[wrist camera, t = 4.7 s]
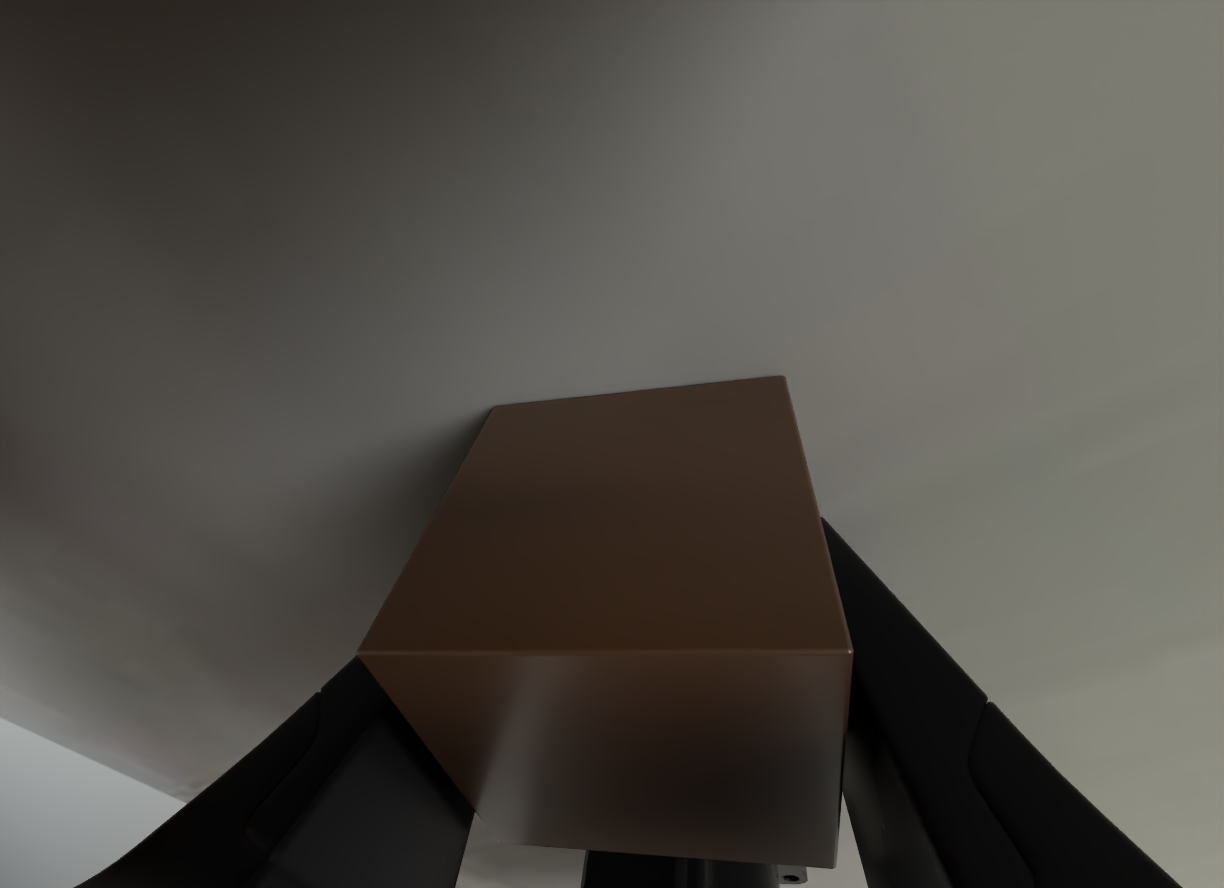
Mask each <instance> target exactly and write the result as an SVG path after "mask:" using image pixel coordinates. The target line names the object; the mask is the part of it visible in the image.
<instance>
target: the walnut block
mask: <svg viewBox="0 0 1224 888" xmlns="http://www.w3.org/2000/svg"><path fill="white" fill-rule="evenodd" d="M853 651H854V650H853V646H852V642H851V638H850V634H849V630H848V626H847V622H846V618H845V614H844V610H843V606H842V602H841V598H840V594H839V590H838V586H837V582H836V578H835V574H834V570H833V566H832V562H831V558H830V554H829V550H828V546H827V542H826V538H825V534H824V530H823V526H822V522H821V518H820V514H819V510H818V506H817V502H816V498H815V494H814V490H813V486H812V482H811V478H810V474H809V470H808V466H807V462H806V458H805V454H804V450H803V446H802V442H801V438H800V434H799V430H798V426H797V422H796V418H795V414H794V410H793V406H792V402H791V399H790V395H789V391H788V387H787V383H786V379H785V377H784V376H774V377H765V378H756V379H746V380H737V381H727V382H718V383H709V384H699V385H690V386H681V387H671V388H662V389H653V390H643V391H634V392H625V393H615V394H606V395H597V396H587V397H578V398H569V399H559V400H550V401H540V402H531V403H522V404H512V405H503V406H496V407H494V408H493V410H492V412H491V414H490V415H489V417H488V419H487V421H486V422H485V424H484V426H483V428H482V430H481V431H480V433H479V435H478V437H477V438H476V440H475V442H474V444H473V446H472V447H471V449H470V451H469V453H468V454H467V456H466V458H465V460H464V462H463V463H462V465H461V467H460V469H459V470H458V472H457V474H456V476H455V478H454V479H453V481H452V483H451V485H450V487H449V488H448V490H447V492H446V494H445V495H444V497H443V499H442V501H441V503H440V504H439V506H438V508H437V510H436V511H435V513H434V515H433V517H432V519H431V520H430V522H429V524H428V526H427V527H426V529H425V531H424V533H423V535H422V536H421V538H420V540H419V542H418V543H417V545H416V547H415V549H414V551H413V552H412V554H411V556H410V558H409V560H408V561H407V563H406V565H405V567H404V568H403V570H402V572H401V574H400V576H399V577H398V579H397V581H396V583H395V584H394V586H393V588H392V590H391V592H390V593H389V595H388V597H387V599H386V600H385V602H384V604H383V606H382V608H381V609H380V611H379V613H378V615H377V616H376V618H375V620H374V622H373V624H372V625H371V627H370V629H369V631H368V633H367V634H366V636H365V638H364V640H363V641H362V643H361V645H360V647H359V649H358V651H357V656H358V657H359V658H360V660H361V661H362V662H363V664H364V665H365V666H366V668H367V669H368V670H369V672H370V673H371V674H372V675H373V677H374V678H375V679H376V681H377V682H378V683H379V685H380V686H381V687H382V689H383V690H384V691H385V693H386V694H387V695H388V697H389V698H390V699H391V701H392V702H393V703H394V705H395V706H396V707H397V709H398V710H399V711H400V712H401V714H402V715H403V716H404V718H405V719H406V720H407V722H408V723H409V724H410V726H411V727H412V728H413V730H414V731H415V732H416V734H417V735H418V736H419V738H420V739H421V740H422V742H423V743H424V744H425V746H426V747H427V748H428V749H429V751H430V752H431V753H432V755H433V756H434V757H435V759H436V760H437V761H438V763H439V764H440V765H441V767H442V768H443V769H444V771H445V772H446V773H447V775H448V776H449V777H450V779H451V780H452V781H453V783H454V784H455V785H456V786H457V788H458V789H459V790H460V792H461V793H462V794H463V796H464V797H465V798H466V800H467V801H468V802H469V804H470V805H471V806H472V808H473V809H474V810H475V812H476V813H477V814H478V816H479V817H480V818H481V819H482V821H483V822H484V823H485V825H486V826H487V827H488V829H489V830H490V831H491V833H492V834H493V835H494V837H495V838H496V839H497V841H498V842H499V843H504V844H517V845H530V846H543V847H556V848H569V849H582V850H595V851H608V852H621V853H634V854H647V855H660V856H673V857H686V858H699V859H712V860H725V861H738V862H751V863H764V864H777V865H790V866H803V867H816V868H829V869H834V868H836V863H837V850H838V838H839V825H840V813H841V801H842V788H843V776H844V763H845V751H846V738H847V726H848V714H849V701H850V689H851V676H852V664H853Z"/></svg>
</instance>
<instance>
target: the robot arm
mask: <svg viewBox="0 0 1224 888" xmlns="http://www.w3.org/2000/svg"><path fill="white" fill-rule="evenodd" d="M820 518H821V522H822V526H823V530H824V534H825V538H826V542H827V546H828V550H829V554H830V558H831V562H832V566H833V570H834V574H835V578H836V582H837V586H838V590H839V594H840V598H841V602H842V606H843V610H844V614H845V618H846V622H847V626H848V630H849V634H850V638H851V642H852V646H853V650H854V651H853V664H852V676H851V689H850V701H849V714H848V726H847V738H846V751H845V763H844V776H843V788H842V791H843V795H844V798H845V802H846V806H847V810H848V813H849V817H850V821H851V825H852V828H853V832H854V836H855V840H856V843H857V847H858V851H859V855H860V858H861V862H862V866H863V869H864V873H865V877H866V881H867V884H868V888H1182V887H1181V886H1180V885H1179V884H1178V883H1177V882H1176V881H1175V880H1174V879H1173V878H1171V877H1170V876H1169V875H1168V874H1167V873H1166V872H1165V871H1164V870H1163V869H1162V868H1161V867H1160V866H1158V865H1157V864H1156V863H1155V862H1154V861H1153V860H1152V859H1151V858H1150V857H1149V856H1148V855H1147V854H1145V853H1144V852H1143V851H1142V850H1141V849H1140V848H1139V847H1138V846H1137V845H1136V844H1135V843H1134V842H1132V841H1131V840H1130V839H1129V838H1128V837H1127V836H1126V835H1125V834H1124V833H1123V832H1122V831H1121V830H1119V829H1118V828H1117V827H1116V826H1115V825H1114V824H1113V823H1112V822H1111V821H1110V820H1109V819H1108V818H1107V817H1105V816H1104V815H1103V814H1102V813H1101V812H1100V811H1099V810H1098V809H1097V808H1096V807H1095V806H1094V805H1093V804H1092V803H1091V802H1090V801H1089V800H1088V799H1087V798H1086V797H1084V796H1083V795H1082V794H1081V793H1080V792H1079V791H1078V790H1077V789H1076V788H1075V787H1074V786H1073V785H1072V784H1071V783H1070V782H1069V781H1068V780H1067V779H1066V778H1065V777H1063V776H1062V775H1061V774H1060V773H1059V772H1058V771H1057V770H1056V769H1055V768H1054V767H1053V765H1052V764H1051V763H1050V762H1049V761H1048V760H1047V759H1046V758H1045V757H1044V756H1043V755H1042V754H1041V753H1040V752H1039V751H1038V750H1037V749H1036V748H1035V747H1034V746H1033V745H1032V744H1031V743H1030V742H1029V741H1028V740H1027V738H1026V737H1025V736H1024V735H1023V734H1022V733H1021V732H1020V731H1019V730H1018V729H1017V728H1016V727H1015V726H1014V725H1013V724H1012V722H1011V721H1010V720H1009V719H1008V718H1007V717H1006V716H1005V715H1004V714H1003V713H1002V711H1001V710H1000V709H999V708H998V707H997V706H996V705H995V704H994V703H993V702H987V700H988V697H987V696H986V694H985V693H984V692H983V691H982V690H981V689H980V688H979V687H978V686H977V685H976V684H975V682H974V681H973V680H972V679H971V678H970V677H969V676H968V675H967V674H966V673H965V672H964V670H963V669H962V668H961V667H960V666H959V665H958V664H957V663H956V662H955V661H954V660H953V658H952V657H951V656H950V655H949V654H948V653H947V652H946V651H945V650H944V649H943V648H942V646H941V645H940V644H939V643H938V642H937V641H936V640H935V639H934V638H933V637H932V636H931V634H930V633H929V632H928V631H927V630H926V629H925V628H924V627H923V626H922V625H921V624H920V623H919V621H918V620H917V619H916V618H915V617H914V616H913V615H912V614H911V613H910V612H909V611H908V609H907V608H906V607H905V606H904V605H903V604H902V603H901V602H900V601H899V600H898V599H897V597H896V596H895V595H894V594H893V593H892V592H891V591H890V590H889V589H888V588H887V587H886V585H885V584H884V583H883V582H882V581H881V580H880V579H879V578H878V577H877V576H876V575H875V574H874V572H873V571H872V570H871V569H870V568H869V567H868V566H867V565H866V564H865V563H864V562H863V560H862V559H861V558H860V557H859V556H858V555H857V554H856V553H855V552H854V551H853V550H852V548H851V547H850V546H849V545H848V544H847V543H846V542H845V541H844V540H843V539H842V538H841V536H840V535H839V534H838V533H837V532H836V531H835V530H834V529H833V528H832V527H831V526H830V525H829V523H828V522H827V521H826V520H825V519H824V518H822V517H820ZM986 703H987V704H986ZM474 813H475V810H474V809H473V808H472V806H471V805H470V804H469V802H468V801H467V800H466V798H465V797H464V796H463V794H462V793H461V792H460V790H459V789H458V788H457V786H456V785H455V784H454V783H453V781H452V780H451V779H450V777H449V776H448V775H447V773H446V772H445V771H444V769H443V768H442V767H441V765H440V764H439V763H438V761H437V760H436V759H435V757H434V756H433V755H432V753H431V752H430V751H429V749H428V748H427V747H426V746H425V744H424V743H423V742H422V740H421V739H420V738H419V736H418V735H417V734H416V732H415V731H414V730H413V728H412V727H411V726H410V724H409V723H408V722H407V720H406V719H405V718H404V716H403V715H402V714H401V712H400V711H399V710H398V709H397V707H396V706H395V705H394V703H393V702H392V701H391V699H390V698H389V697H388V695H387V694H386V693H385V691H384V690H383V689H382V687H381V686H380V685H379V683H378V682H377V681H376V679H375V678H374V677H373V675H372V674H371V673H370V672H369V670H368V669H367V668H366V666H365V665H364V664H363V662H362V661H361V660H360V658H359V657H358V656H357V655H356V656H355V657H354V658H353V659H352V660H351V661H350V662H349V663H348V664H347V665H346V666H344V667H343V668H342V669H341V670H340V671H339V672H338V673H337V674H336V675H335V676H334V677H333V678H332V679H330V680H329V681H328V682H327V683H326V684H325V685H324V686H323V687H322V688H321V692H317V693H315V694H314V695H313V696H312V697H311V698H310V699H309V700H308V701H307V702H306V703H304V704H303V705H302V706H301V707H300V708H299V709H298V710H297V711H296V712H295V713H294V714H292V715H291V716H290V717H289V718H288V719H287V720H286V721H285V722H284V723H282V724H281V725H280V726H279V727H278V728H277V729H276V730H275V731H274V732H272V733H271V734H270V735H269V736H268V737H267V738H266V739H265V740H264V741H262V742H261V743H260V744H259V745H258V746H256V747H255V748H254V749H253V750H252V751H251V752H249V753H248V754H247V755H246V756H245V757H243V758H242V759H241V760H240V761H239V762H238V763H236V764H235V765H234V766H233V767H232V768H230V769H229V770H228V771H227V772H226V773H224V774H223V775H222V776H221V777H220V778H218V779H217V780H216V781H215V782H214V783H212V784H211V785H210V786H209V787H207V788H206V789H205V790H204V791H203V792H201V793H200V794H199V795H198V796H196V797H195V798H194V799H193V800H192V801H190V802H189V803H188V804H187V805H186V806H184V807H183V808H182V809H181V810H179V811H178V812H177V813H176V814H175V815H173V816H172V817H171V818H170V819H168V820H167V821H166V822H165V823H163V824H162V825H161V826H160V827H159V828H158V829H156V830H155V831H154V832H153V833H152V834H150V835H149V836H148V837H146V838H145V839H144V840H143V841H142V842H140V843H139V844H138V845H137V846H135V847H134V848H133V849H132V850H130V851H129V852H128V853H127V854H125V855H124V856H123V857H121V858H120V859H119V860H117V861H116V862H114V863H113V864H111V865H110V866H109V867H107V868H106V869H104V870H103V871H101V872H100V873H98V874H97V875H95V876H93V877H92V878H90V879H88V880H87V881H85V882H83V883H82V884H80V885H78V886H76V887H74V888H455V885H456V881H457V877H458V874H459V870H460V866H461V862H462V858H463V855H464V851H465V847H466V843H467V839H468V835H469V832H470V828H471V824H472V820H473V816H474ZM806 881H808V880H807V871H806V867H803V866H790V865H777V864H764V863H751V862H738V861H725V860H712V859H699V858H686V857H673V856H660V855H647V854H634V853H621V852H608V851H595V850H586V853H585V861H584V868H583V875H582V882H581V888H779V884H801V883H805V882H806Z"/></svg>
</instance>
